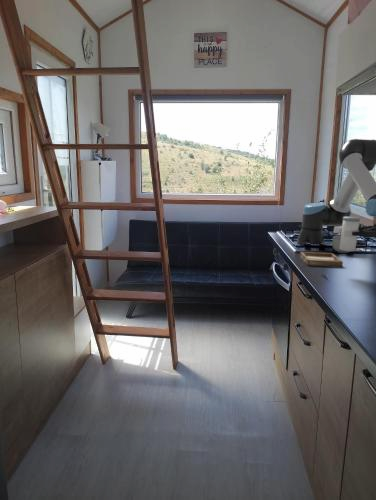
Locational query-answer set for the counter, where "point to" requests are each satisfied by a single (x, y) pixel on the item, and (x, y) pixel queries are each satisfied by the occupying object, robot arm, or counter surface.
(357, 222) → the canister
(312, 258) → the tray
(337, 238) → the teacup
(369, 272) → the counter surface
